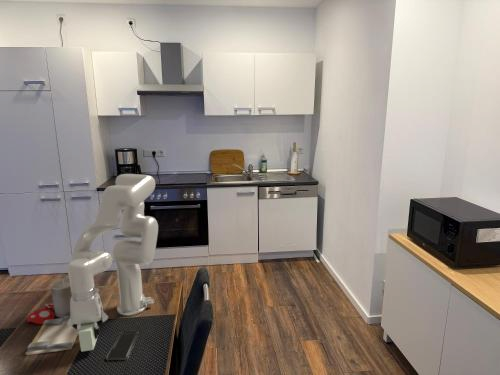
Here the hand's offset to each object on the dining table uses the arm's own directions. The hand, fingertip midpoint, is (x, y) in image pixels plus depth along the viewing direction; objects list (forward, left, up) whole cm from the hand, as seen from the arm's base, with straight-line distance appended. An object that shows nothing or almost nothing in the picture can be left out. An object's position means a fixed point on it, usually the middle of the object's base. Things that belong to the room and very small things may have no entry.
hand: (90, 336), depth 124 cm
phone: (-12, +3, -5) cm, 13 cm away
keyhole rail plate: (+14, -9, -4) cm, 18 cm away
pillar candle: (+16, -26, -4) cm, 31 cm away
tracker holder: (+24, -24, -4) cm, 34 cm away
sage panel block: (0, 0, -2) cm, 2 cm away
